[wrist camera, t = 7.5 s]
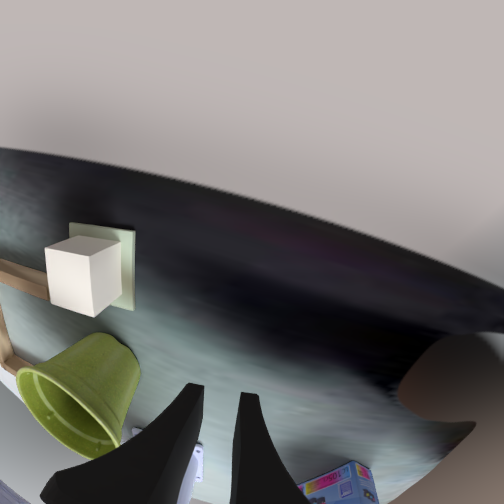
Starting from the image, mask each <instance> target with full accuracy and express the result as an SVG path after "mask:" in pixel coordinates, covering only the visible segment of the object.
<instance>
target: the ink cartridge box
mask: <svg viewBox="0 0 504 504" xmlns="http://www.w3.org/2000/svg"><path fill="white" fill-rule="evenodd" d="M297 486H298V488H299V489H300V490H301V491H302V493H303V494H304V495H305V496H306V497H307V499H308V500H309V501H310V502H311V503H312V504H379V501H378V497H377V493H376V489H375V484H374V480H373V476H372V473H371V470H369V469H367V468H366V467H364V466H362V465H360V464H359V463H357V462H355V461H351V462H349V463H347V464H345V465H343V466H341V467H339V468H337V469H335V470H333V471H330V472H328V473H326V474H324V475H321V476H319V477H317V478H314V479H312V480H309V481H307V482H304V483H301V484H299V485H297Z"/></svg>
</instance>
